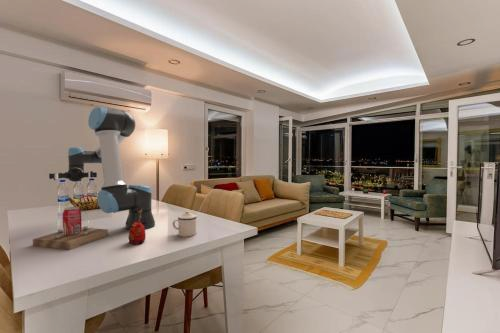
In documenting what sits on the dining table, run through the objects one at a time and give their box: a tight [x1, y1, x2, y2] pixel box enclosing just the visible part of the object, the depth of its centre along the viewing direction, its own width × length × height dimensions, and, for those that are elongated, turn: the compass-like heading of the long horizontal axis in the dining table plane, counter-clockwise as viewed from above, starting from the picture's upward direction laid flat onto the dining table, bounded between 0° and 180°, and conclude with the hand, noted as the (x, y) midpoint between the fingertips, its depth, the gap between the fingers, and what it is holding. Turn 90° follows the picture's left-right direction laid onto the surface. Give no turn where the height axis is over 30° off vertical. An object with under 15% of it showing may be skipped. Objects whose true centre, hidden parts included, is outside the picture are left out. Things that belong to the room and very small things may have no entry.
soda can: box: [62, 206, 82, 235], centre depth 117 cm, size 7×7×12 cm
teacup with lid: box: [172, 210, 197, 238], centre depth 127 cm, size 12×9×12 cm
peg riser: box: [32, 225, 109, 250], centre depth 117 cm, size 20×20×4 cm
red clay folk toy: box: [128, 210, 147, 245], centre depth 115 cm, size 8×7×15 cm
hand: (72, 176), depth 125 cm, fingers open, 13 cm apart
